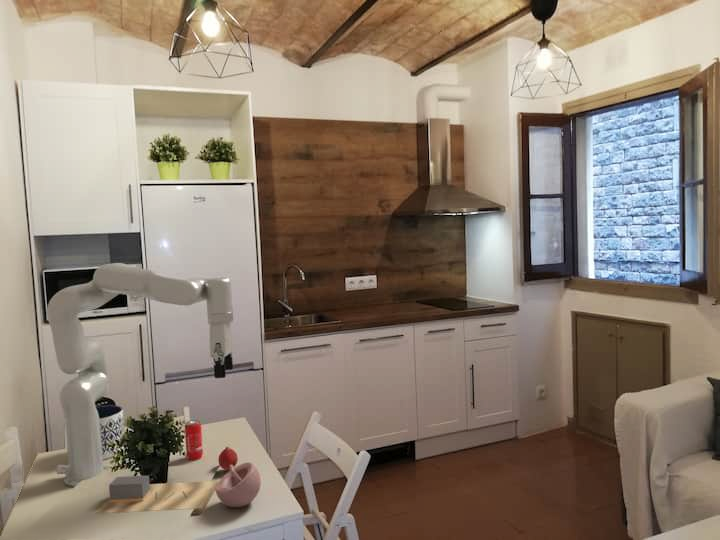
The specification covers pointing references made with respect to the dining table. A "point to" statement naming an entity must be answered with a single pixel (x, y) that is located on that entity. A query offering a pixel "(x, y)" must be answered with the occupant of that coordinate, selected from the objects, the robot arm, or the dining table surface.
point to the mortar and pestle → (239, 485)
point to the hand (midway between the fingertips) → (224, 373)
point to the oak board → (168, 498)
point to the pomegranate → (227, 458)
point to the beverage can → (193, 439)
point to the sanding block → (129, 489)
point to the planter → (110, 427)
